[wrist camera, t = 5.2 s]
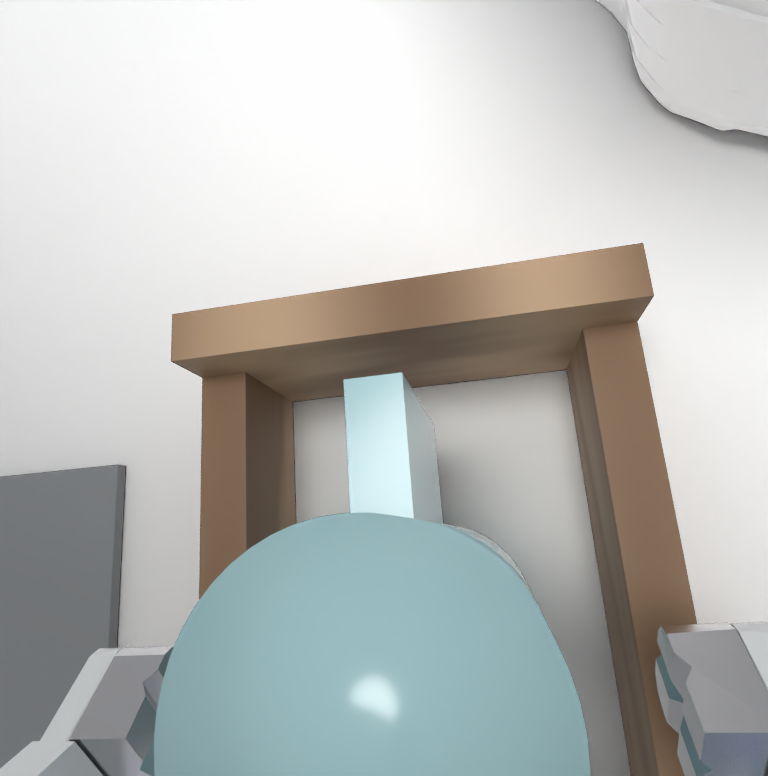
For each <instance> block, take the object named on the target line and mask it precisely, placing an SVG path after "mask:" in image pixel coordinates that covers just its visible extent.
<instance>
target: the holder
mask: <svg viewBox="0 0 768 776" xmlns="http://www.w3.org/2000/svg"><path fill="white" fill-rule="evenodd" d="M653 296H654V293H653V288H652V284H651V279H650V274H649V269H648V264H647V260H646V255H645V250H644V245H643V243H639V244H632V245H626V246H619V247H612V248H606V249H599V250H593V251H586V252H579V253H573V254H566V255H560V256H553V257H546V258H540V259H533V260H527V261H520V262H514V263H507V264H500V265H494V266H487V267H481V268H474V269H467V270H461V271H454V272H448V273H441V274H434V275H428V276H421V277H415V278H408V279H401V280H395V281H388V282H382V283H375V284H368V285H362V286H355V287H349V288H342V289H335V290H329V291H322V292H316V293H309V294H302V295H296V296H289V297H283V298H276V299H270V300H263V301H256V302H250V303H243V304H237V305H230V306H223V307H217V308H210V309H204V310H197V311H190V312H184V313H177V314H172V342H171V362H173V363H175V364H177V365H179V366H181V367H183V368H185V369H187V370H189V371H191V372H192V373H194V374H196V375H198V376H200V377H202V378H203V381H202V448H201V515H200V582H199V600H200V599H201V597H202V596H203V595H204V593H205V592H206V591H207V589H208V588H209V586H210V585H211V584H212V583H213V582H214V581H215V580H216V578H217V577H218V576H219V575H220V574H221V573H222V572H223V571H224V570H225V569H226V568H227V567H228V566H229V565H230V564H231V563H232V562H233V561H235V560H236V559H237V558H238V557H240V556H241V555H242V554H243V553H244V552H246V551H247V550H248V549H249V548H251V547H252V546H254V545H256V544H257V543H259V542H260V541H262V540H264V539H265V538H267V537H268V536H270V535H272V534H274V533H276V532H278V531H280V530H283V529H285V528H287V527H289V526H292V525H294V524H296V504H295V468H294V431H293V402H295V401H304V400H312V399H321V398H329V397H338V396H344V382H343V380H344V379H352V378H360V377H368V376H377V375H385V374H393V373H401V372H402V373H403V375H404V376H405V378H406V379H407V381H408V383H409V384H410V386H411V388H414V387H423V386H431V385H440V384H448V383H457V382H465V381H474V380H482V379H491V378H499V377H508V376H516V375H525V374H533V373H542V372H550V371H559V370H567V375H568V382H569V388H570V394H571V400H572V407H573V413H574V419H575V426H576V432H577V438H578V444H579V451H580V457H581V463H582V469H583V476H584V482H585V488H586V495H587V501H588V507H589V513H590V520H591V526H592V532H593V539H594V545H595V551H596V557H597V564H598V570H599V576H600V583H601V589H602V595H603V601H604V608H605V614H606V620H607V626H608V633H609V639H610V645H611V652H612V658H613V664H614V670H615V677H616V683H617V689H618V696H619V702H620V708H621V714H622V721H623V727H624V733H625V740H626V746H627V752H628V758H629V765H630V771H631V776H685V775H684V772H683V769H682V766H681V763H680V760H679V758H678V755H677V751H678V741H679V734H678V733H677V732H676V731H675V730H674V729H673V728H672V727H671V726H670V725H669V724H668V723H667V721H666V718H665V715H664V712H663V709H662V706H661V702H660V698H659V694H658V689H657V682H656V674H655V665H656V658H657V657H658V656H660V655H661V654H662V653H661V651H660V648H659V645H658V642H657V636H658V630H659V628H660V627H661V626H674V625H692V624H697V621H696V616H695V611H694V606H693V601H692V596H691V591H690V586H689V581H688V575H687V570H686V565H685V560H684V555H683V550H682V545H681V540H680V535H679V530H678V525H677V520H676V515H675V510H674V505H673V500H672V495H671V489H670V484H669V479H668V474H667V469H666V464H665V459H664V454H663V449H662V444H661V439H660V434H659V429H658V424H657V419H656V414H655V408H654V403H653V398H652V393H651V388H650V383H649V378H648V373H647V368H646V363H645V358H644V353H643V348H642V343H641V338H640V333H639V328H638V322H637V321H638V320H639V318H640V317H641V315H642V313H643V312H644V310H645V309H646V307H647V306H648V304H649V303H650V301H651V299H652V298H653Z"/></svg>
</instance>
